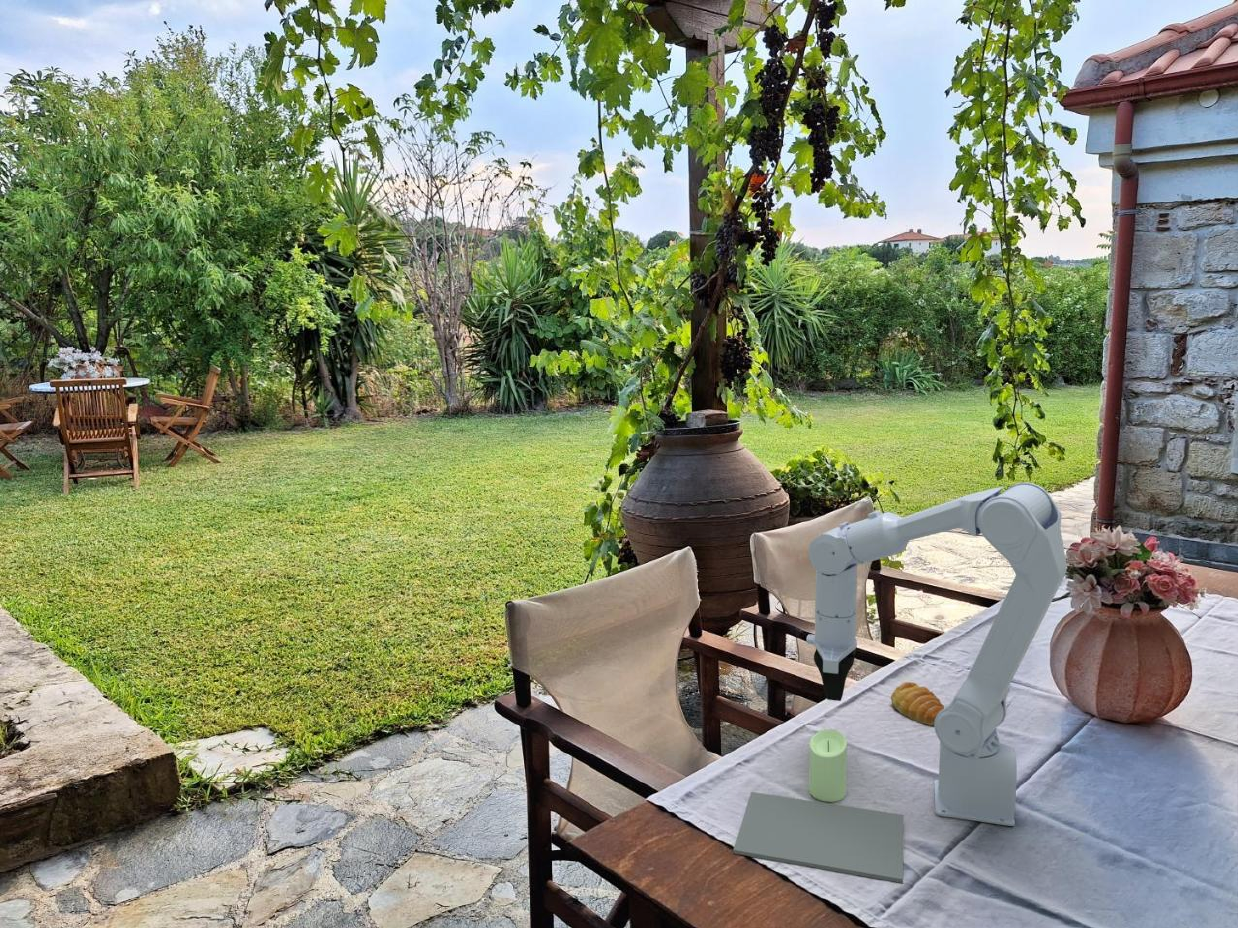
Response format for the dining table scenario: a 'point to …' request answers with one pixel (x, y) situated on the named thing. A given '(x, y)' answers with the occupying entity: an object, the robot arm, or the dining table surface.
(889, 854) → the mat
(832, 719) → the dining table surface
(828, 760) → the candle
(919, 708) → the pastry
